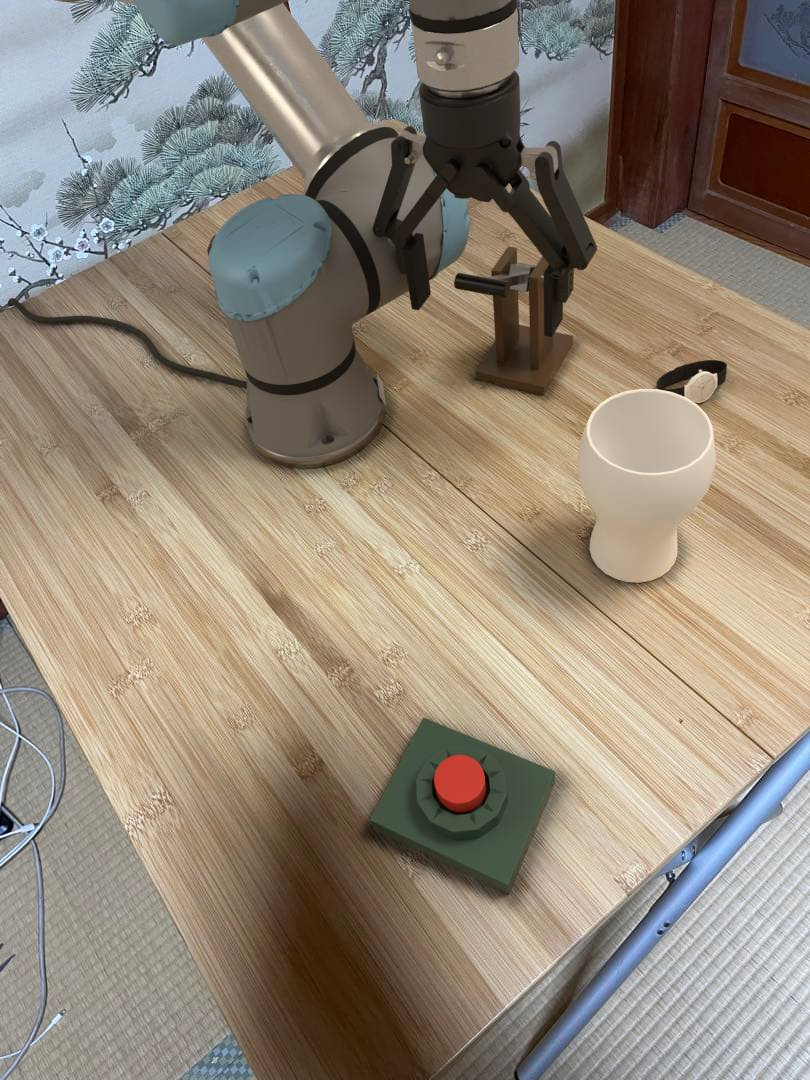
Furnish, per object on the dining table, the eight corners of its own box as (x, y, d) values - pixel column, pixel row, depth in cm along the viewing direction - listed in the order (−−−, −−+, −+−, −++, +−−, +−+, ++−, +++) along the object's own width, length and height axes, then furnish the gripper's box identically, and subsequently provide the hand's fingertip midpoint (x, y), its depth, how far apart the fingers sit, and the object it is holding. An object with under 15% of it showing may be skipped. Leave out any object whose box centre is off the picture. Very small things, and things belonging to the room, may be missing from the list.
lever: (502, 304, 75) (506, 276, 74) (452, 294, 77) (455, 267, 76) (548, 292, 86) (552, 268, 85) (503, 284, 88) (507, 260, 87)
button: (428, 800, 60) (425, 791, 59) (449, 757, 62) (447, 747, 61) (473, 820, 59) (472, 811, 57) (493, 776, 61) (492, 766, 59)
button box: (373, 830, 63) (365, 811, 60) (426, 729, 67) (420, 706, 64) (509, 895, 59) (507, 878, 56) (555, 782, 63) (555, 761, 60)
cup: (667, 614, 71) (691, 499, 59) (553, 569, 76) (555, 454, 64) (711, 527, 76) (741, 405, 64) (602, 490, 81) (611, 369, 69)
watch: (669, 417, 85) (674, 390, 83) (644, 390, 88) (647, 363, 85) (734, 391, 86) (741, 364, 84) (708, 365, 89) (713, 338, 87)
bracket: (543, 395, 90) (543, 294, 80) (476, 379, 93) (467, 280, 83) (573, 344, 94) (576, 243, 84) (507, 330, 97) (503, 231, 87)
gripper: (302, 86, 65) (352, 314, 81) (615, 114, 55) (600, 365, 72) (349, 44, 68) (388, 270, 85) (649, 64, 59) (628, 313, 75)
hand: (485, 314), depth 78 cm, fingers open, 13 cm apart
